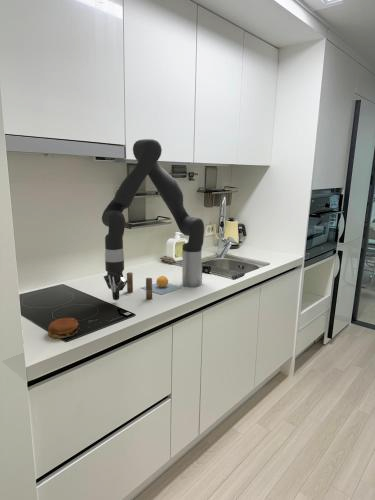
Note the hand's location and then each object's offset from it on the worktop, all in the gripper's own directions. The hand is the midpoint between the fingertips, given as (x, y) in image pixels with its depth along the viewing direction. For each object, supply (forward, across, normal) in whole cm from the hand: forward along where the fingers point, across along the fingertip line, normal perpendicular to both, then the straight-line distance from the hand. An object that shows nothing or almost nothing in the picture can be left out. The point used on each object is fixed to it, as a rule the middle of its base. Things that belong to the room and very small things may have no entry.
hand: (115, 299), depth 143 cm
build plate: (+2, +1, -64) cm, 64 cm away
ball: (-1, 0, -28) cm, 28 cm away
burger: (+2, -10, +29) cm, 31 cm away
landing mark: (+2, 0, -27) cm, 27 cm away
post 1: (+2, +6, -13) cm, 15 cm away
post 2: (+2, -6, -13) cm, 15 cm away
